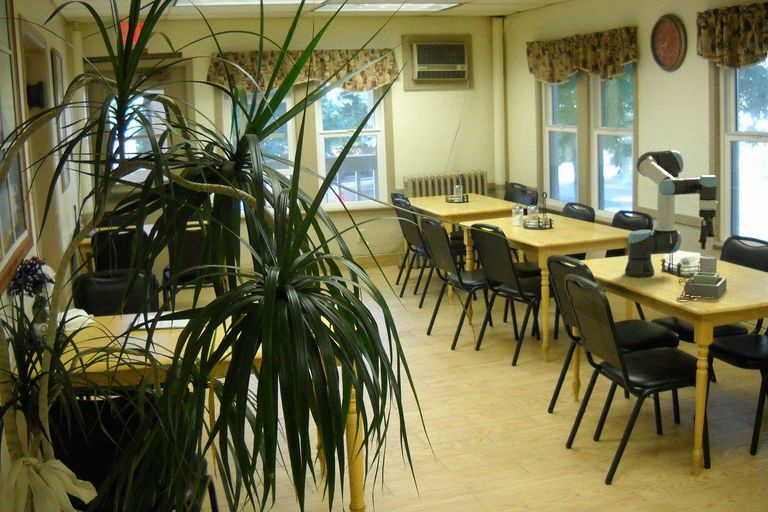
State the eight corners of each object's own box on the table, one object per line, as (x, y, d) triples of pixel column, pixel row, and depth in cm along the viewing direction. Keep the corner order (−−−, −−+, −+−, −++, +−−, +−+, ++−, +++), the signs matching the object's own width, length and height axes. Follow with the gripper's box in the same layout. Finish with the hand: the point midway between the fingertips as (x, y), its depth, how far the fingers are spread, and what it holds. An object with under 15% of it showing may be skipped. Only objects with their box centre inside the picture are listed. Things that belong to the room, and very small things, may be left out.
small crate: (693, 291, 424) (693, 275, 423) (696, 288, 431) (696, 272, 430) (715, 293, 419) (715, 276, 418) (718, 289, 426) (718, 273, 425)
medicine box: (714, 273, 469) (714, 256, 467) (716, 274, 465) (716, 258, 463) (698, 273, 470) (699, 257, 468) (700, 275, 465) (701, 258, 464)
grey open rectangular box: (684, 296, 421) (685, 283, 420) (694, 287, 437) (694, 275, 436) (718, 298, 413) (718, 285, 412) (726, 289, 430) (726, 277, 429)
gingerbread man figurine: (694, 298, 415) (695, 273, 413) (698, 300, 412) (698, 274, 410) (676, 299, 415) (676, 274, 413) (679, 301, 411) (680, 276, 409)
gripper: (710, 212, 406) (709, 258, 410) (721, 205, 427) (719, 249, 431) (693, 212, 409) (692, 257, 413) (704, 204, 430) (703, 248, 434)
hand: (706, 253), depth 422 cm, fingers open, 13 cm apart
